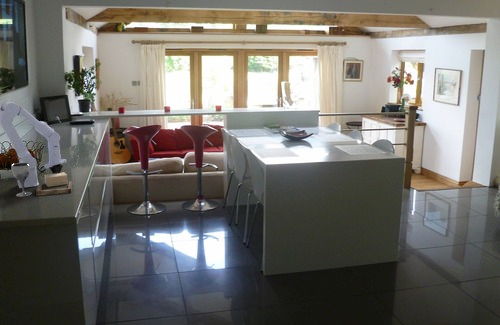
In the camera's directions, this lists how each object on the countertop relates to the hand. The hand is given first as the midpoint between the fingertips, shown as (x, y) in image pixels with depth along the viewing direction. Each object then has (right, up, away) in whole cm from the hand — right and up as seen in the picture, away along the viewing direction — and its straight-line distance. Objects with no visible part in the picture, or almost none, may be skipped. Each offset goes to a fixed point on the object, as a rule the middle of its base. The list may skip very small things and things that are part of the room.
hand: (57, 178), depth 263 cm
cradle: (+5, -5, -16) cm, 18 cm away
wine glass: (-7, -7, -24) cm, 26 cm away
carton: (+2, -3, -5) cm, 6 cm away
